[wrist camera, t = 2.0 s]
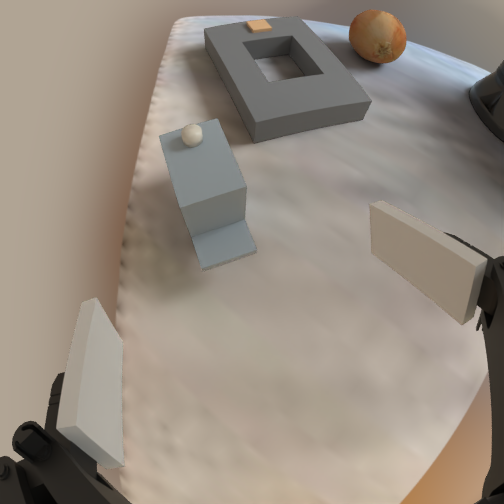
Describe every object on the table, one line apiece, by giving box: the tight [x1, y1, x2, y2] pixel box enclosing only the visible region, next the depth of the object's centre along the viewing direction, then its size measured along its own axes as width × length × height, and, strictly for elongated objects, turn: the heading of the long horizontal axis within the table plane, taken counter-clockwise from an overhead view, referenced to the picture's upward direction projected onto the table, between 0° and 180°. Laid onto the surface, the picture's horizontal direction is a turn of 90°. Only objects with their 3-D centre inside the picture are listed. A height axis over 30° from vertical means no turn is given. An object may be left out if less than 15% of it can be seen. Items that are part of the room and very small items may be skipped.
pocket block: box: [204, 16, 372, 143], centre depth 38 cm, size 22×16×5 cm
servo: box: [159, 118, 257, 271], centre depth 28 cm, size 13×5×12 cm, turn 21°
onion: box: [349, 10, 406, 63], centre depth 39 cm, size 10×10×10 cm
